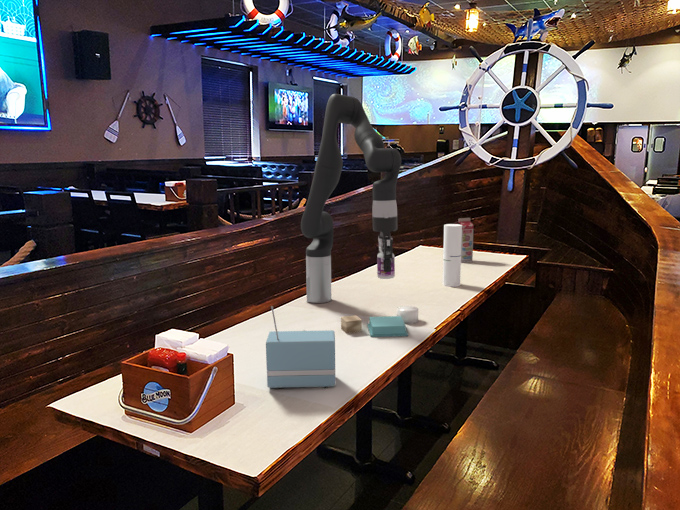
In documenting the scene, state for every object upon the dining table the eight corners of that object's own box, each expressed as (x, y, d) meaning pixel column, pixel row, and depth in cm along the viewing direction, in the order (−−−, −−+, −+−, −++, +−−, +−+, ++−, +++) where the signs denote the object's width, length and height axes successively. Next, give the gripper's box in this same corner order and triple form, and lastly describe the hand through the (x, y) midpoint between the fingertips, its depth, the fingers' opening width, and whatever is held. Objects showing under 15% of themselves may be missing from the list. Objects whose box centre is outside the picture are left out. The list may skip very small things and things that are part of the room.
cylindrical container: (460, 287, 219) (462, 226, 214) (442, 286, 220) (443, 226, 216) (459, 283, 226) (461, 224, 221) (442, 282, 227) (444, 223, 222)
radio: (335, 374, 133) (334, 296, 130) (335, 390, 124) (334, 307, 121) (271, 375, 133) (268, 297, 129) (267, 391, 124) (264, 308, 120)
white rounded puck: (398, 324, 172) (398, 312, 172) (395, 317, 179) (395, 306, 178) (420, 323, 173) (420, 311, 172) (416, 317, 179) (416, 305, 179)
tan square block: (346, 334, 163) (346, 321, 163) (341, 329, 168) (341, 317, 167) (361, 332, 165) (361, 319, 164) (356, 327, 169) (356, 315, 169)
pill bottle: (381, 279, 163) (380, 248, 161) (375, 276, 168) (374, 246, 166) (397, 278, 164) (397, 247, 162) (391, 275, 169) (390, 244, 168)
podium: (370, 336, 160) (370, 327, 159) (367, 325, 171) (367, 316, 170) (407, 336, 160) (408, 326, 160) (402, 324, 171) (402, 315, 171)
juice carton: (454, 260, 274) (455, 217, 270) (465, 259, 276) (466, 217, 272) (460, 262, 268) (461, 219, 264) (472, 261, 270) (473, 218, 266)
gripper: (369, 213, 169) (371, 266, 172) (375, 217, 155) (376, 275, 158) (393, 212, 170) (394, 265, 173) (401, 216, 156) (402, 273, 158)
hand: (385, 269), depth 165 cm, fingers closed on pill bottle, 5 cm apart
